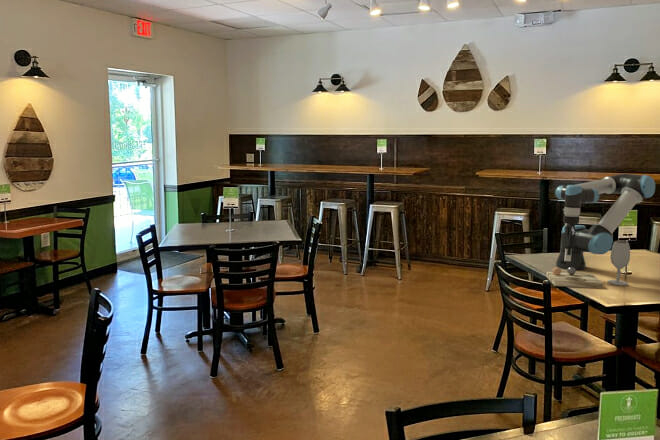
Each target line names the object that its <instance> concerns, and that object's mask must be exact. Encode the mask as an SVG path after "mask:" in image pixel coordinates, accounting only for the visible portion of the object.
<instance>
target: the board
mask: <svg viewBox="0 0 660 440" xmlns="http://www.w3.org/2000/svg"><path fill="white" fill-rule="evenodd" d="M545 274H546V275H545V277H546V278H547V280H549V281H550V283H551V284H552V285H553V286H555V287H570V288H571V287H573V288H587V289H589V288H592V289H603V288H604V287H603V286H604V283H603V282H602V281H601V280H600V279H598V278H597V277H596V276H595V275H594V274H593V273H583V272H582V273H579V272H575V274H573V275H570V274H568V272H562V271H561V273H560V274H559V275H555V274H553V271H546V273H545Z"/></svg>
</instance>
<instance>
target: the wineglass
mask: <svg viewBox="0 0 660 440" xmlns="http://www.w3.org/2000/svg"><path fill="white" fill-rule="evenodd" d="M630 260H631V248H630V243H629V242H628V241H625V240H624V241H623V240H615V241H613V243H612V247H611V249H610V262H611V264H612V265H613V266H614V267H615V268H616V270H617V271H616V279H609V280H607V283H608V284H610V285H613V286H620V287H621V286H622V287H623V286H624V287H626V286H628V285H629V284H628V282H627V281H623V280H620V278H621V270H622V269H623V268H624V269H625V267H627V266H629V263H630Z"/></svg>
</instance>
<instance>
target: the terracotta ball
mask: <svg viewBox="0 0 660 440" xmlns="http://www.w3.org/2000/svg"><path fill="white" fill-rule="evenodd" d="M561 269H562V268H560V267H557V266H555V267H554V268H553V269H552V272H553V274H555V275H559V274H560V273H561V272H562V270H561Z"/></svg>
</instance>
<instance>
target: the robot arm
mask: <svg viewBox="0 0 660 440" xmlns="http://www.w3.org/2000/svg"><path fill="white" fill-rule="evenodd" d="M655 191H656V182H655V180H654V178H653V177H652V176H650V175H646V174H643V175H641V174H631V173H619V174H614V175H609V176H605V177H603V178H602V179H598V180H594V181H593V180H592V181H588V182H584V183H577V184H568V185H559V186H558V187H557V188H556V189H555V197H556V199H558V200H562V201H564V208H563V209H562V211H563V217H562V222H563V223H564V224H566V225H564V226H563V227H562V229H561V237H560V251H559V254H558V257H557V258H556V261H555V267H559V268H560V269H564V270H567V269H568V268H569V267H574V268H575V270H576V271H578V270H579V271H580V270H585V269H586V264H587V263H586V260H585V257H584V252H587V253H589V254H590V253H591V254H593V255H605V254H607V253H608V252H610V251H611V250H612V246H613V244H614V238H613V237H614V235H613V233H614V232H615V230H616V229H617V228H618V227H619V226H620V224H621V223H622V222H623V221H624V220H625V218H626V217H627V216H628V214H629V213H630V212H631V210H632V209H633V208H634V207H635V205H637V204H641V203H642V202H643V200H644V199H649V198H651V197H653V195H654V194H655ZM602 194H607V195H610V194H618V195H620V196H618V198H617V199H616V200H615V202H614V203H613V204H612V205H611V207H610V208H609V209H608V211H606V213H605V214H604V215H603V216H602V218H601V219H600V220H599V222H598V223H594V224H592V226H591V227H590V228H589V229H587V228H586V225H582V224H580V214H581V205H582V204H594V203H595V204H596V203H597V202H598V201H599V199H600V195H602Z"/></svg>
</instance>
